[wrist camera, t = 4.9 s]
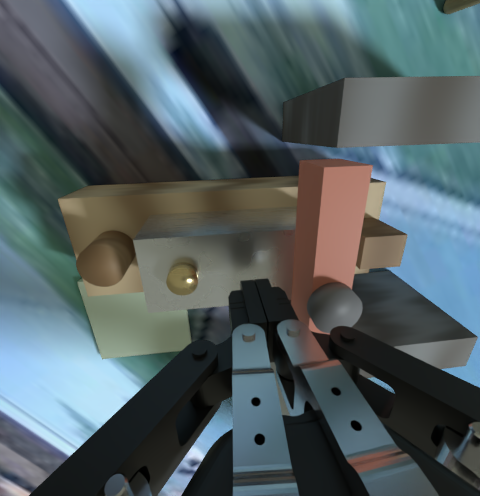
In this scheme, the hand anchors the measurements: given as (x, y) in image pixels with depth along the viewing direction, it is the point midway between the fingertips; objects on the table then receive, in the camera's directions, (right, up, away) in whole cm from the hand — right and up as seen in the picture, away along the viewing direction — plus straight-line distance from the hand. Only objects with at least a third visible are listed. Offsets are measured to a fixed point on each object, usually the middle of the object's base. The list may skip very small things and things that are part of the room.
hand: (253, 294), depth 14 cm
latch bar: (+3, +1, +2) cm, 4 cm away
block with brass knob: (-1, +3, +7) cm, 7 cm away
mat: (-11, -5, +14) cm, 19 cm away
